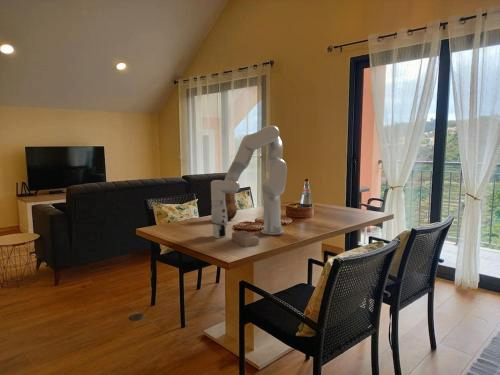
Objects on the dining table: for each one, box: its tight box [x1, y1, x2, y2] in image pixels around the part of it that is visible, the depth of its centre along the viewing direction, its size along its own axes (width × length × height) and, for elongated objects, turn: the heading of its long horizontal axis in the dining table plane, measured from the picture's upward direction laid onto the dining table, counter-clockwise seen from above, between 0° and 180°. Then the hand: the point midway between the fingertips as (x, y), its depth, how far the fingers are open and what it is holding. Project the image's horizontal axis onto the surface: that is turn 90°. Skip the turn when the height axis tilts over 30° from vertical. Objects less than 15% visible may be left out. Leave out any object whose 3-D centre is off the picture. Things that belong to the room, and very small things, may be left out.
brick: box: [231, 230, 260, 248], centre depth 194 cm, size 16×8×5 cm, turn 27°
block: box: [212, 223, 227, 239], centre depth 206 cm, size 5×5×7 cm
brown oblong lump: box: [225, 193, 238, 221], centre depth 250 cm, size 14×13×25 cm
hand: (219, 234), depth 207 cm, fingers closed on block, 5 cm apart
